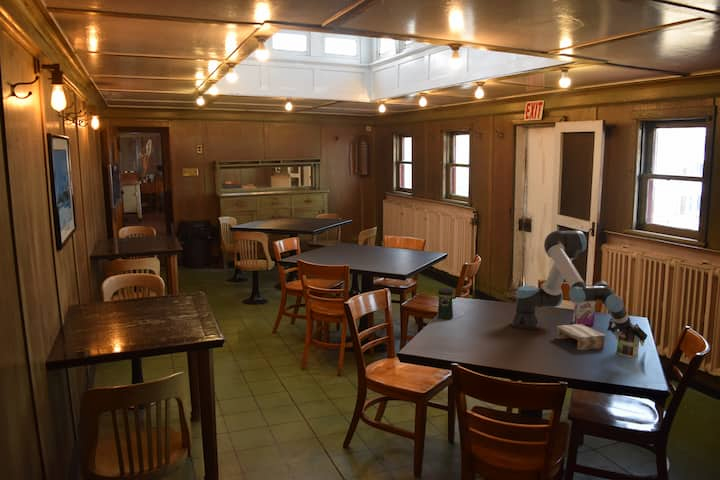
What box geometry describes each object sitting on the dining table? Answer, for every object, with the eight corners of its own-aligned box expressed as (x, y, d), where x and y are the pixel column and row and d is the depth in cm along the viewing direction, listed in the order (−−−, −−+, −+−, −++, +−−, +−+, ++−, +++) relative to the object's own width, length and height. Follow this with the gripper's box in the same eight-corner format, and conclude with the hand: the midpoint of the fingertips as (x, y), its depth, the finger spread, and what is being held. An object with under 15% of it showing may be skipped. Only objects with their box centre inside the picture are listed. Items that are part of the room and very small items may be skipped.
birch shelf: (578, 350, 303) (579, 337, 302) (555, 337, 322) (556, 325, 321) (604, 347, 307) (605, 335, 306) (580, 335, 326) (581, 323, 325)
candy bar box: (574, 324, 347) (576, 298, 344) (572, 322, 352) (574, 295, 349) (594, 325, 346) (596, 298, 343) (591, 323, 351) (593, 296, 348)
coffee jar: (453, 316, 359) (455, 287, 356) (452, 320, 351) (453, 290, 348) (438, 315, 361) (439, 286, 358) (436, 318, 354) (437, 289, 351)
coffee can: (623, 357, 294) (625, 330, 292) (612, 350, 304) (615, 324, 302) (642, 357, 295) (645, 330, 293) (631, 349, 305) (633, 324, 303)
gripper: (594, 318, 295) (604, 340, 308) (643, 329, 277) (652, 352, 290) (599, 306, 298) (610, 328, 310) (648, 317, 280) (657, 340, 293)
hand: (630, 340), depth 300 cm, fingers open, 12 cm apart
